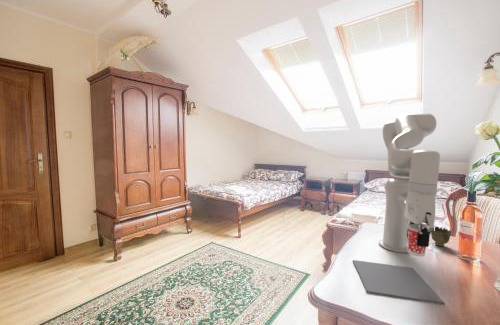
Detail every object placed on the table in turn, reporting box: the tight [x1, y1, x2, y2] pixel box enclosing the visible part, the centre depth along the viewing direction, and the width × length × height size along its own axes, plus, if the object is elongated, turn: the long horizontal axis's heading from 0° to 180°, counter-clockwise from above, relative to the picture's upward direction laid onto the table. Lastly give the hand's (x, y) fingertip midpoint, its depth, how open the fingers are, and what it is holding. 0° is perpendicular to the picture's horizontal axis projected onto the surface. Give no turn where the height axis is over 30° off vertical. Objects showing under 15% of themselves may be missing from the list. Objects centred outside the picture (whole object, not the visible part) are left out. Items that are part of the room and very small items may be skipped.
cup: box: [430, 226, 452, 248], centre depth 110 cm, size 8×7×8 cm
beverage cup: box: [407, 224, 427, 258], centre depth 77 cm, size 6×6×14 cm
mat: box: [352, 259, 445, 306], centre depth 80 cm, size 20×21×1 cm
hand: (417, 241), depth 77 cm, fingers closed on beverage cup, 6 cm apart
